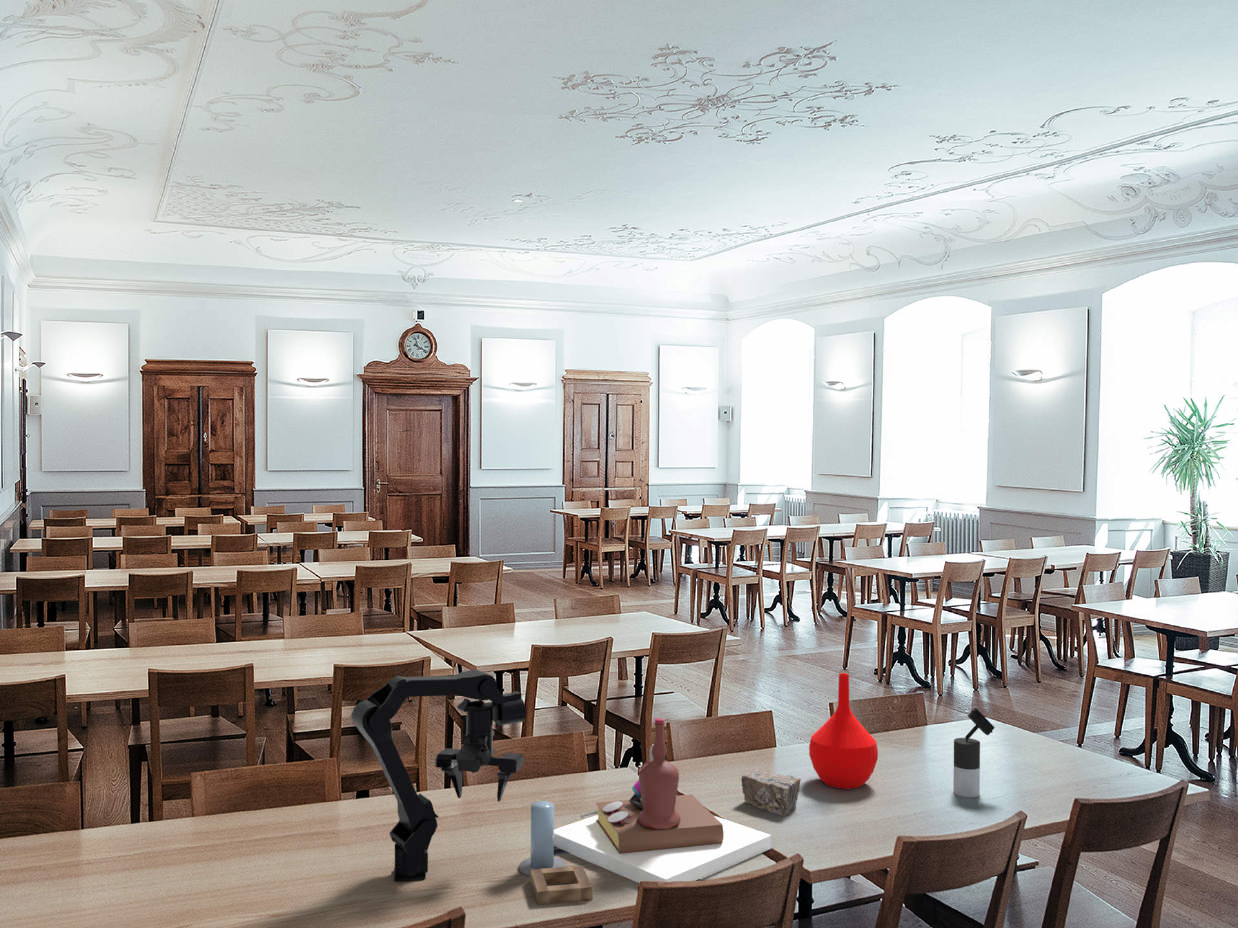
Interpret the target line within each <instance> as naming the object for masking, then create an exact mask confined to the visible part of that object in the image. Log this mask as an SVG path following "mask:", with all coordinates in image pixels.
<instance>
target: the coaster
mask: <svg viewBox="0 0 1238 928" xmlns="http://www.w3.org/2000/svg"><path fill="white" fill-rule="evenodd" d="M530 862H531V857H528V858H526V859H524V860H522V861H520V862H519V866H518V867H519V868H518V869H519V872H520V873H522V874H523V875H525V876H527V877H530V870H532V869H533V868H532V867H531V866H530ZM557 867H567V863H566V862H565V860H564V859H561V858H559V857H556V856H554V866H553V867H552V868H557Z"/></svg>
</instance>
